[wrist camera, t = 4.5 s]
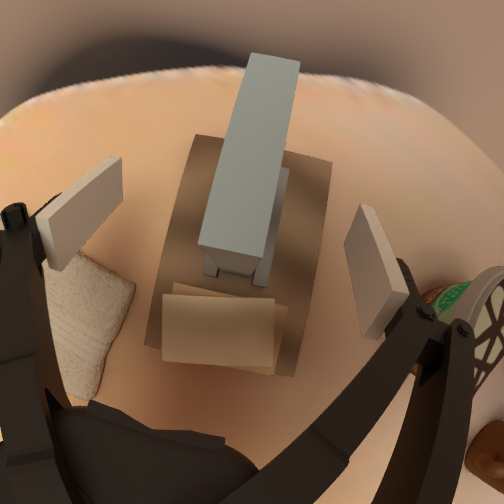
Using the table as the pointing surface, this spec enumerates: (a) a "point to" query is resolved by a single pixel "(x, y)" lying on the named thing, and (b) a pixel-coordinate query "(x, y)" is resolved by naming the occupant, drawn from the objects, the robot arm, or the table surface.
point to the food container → (475, 316)
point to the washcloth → (84, 319)
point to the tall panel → (249, 166)
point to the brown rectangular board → (275, 252)
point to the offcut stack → (221, 329)
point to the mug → (488, 456)
